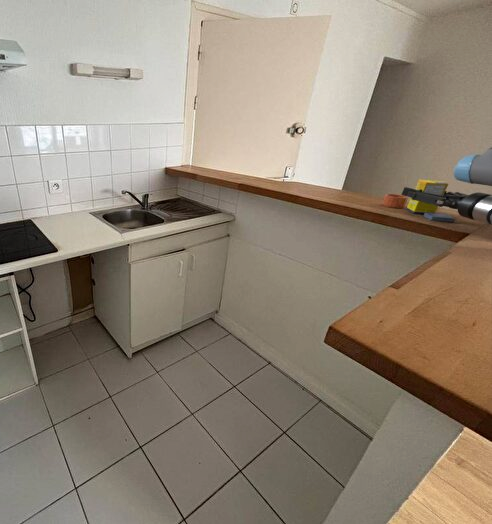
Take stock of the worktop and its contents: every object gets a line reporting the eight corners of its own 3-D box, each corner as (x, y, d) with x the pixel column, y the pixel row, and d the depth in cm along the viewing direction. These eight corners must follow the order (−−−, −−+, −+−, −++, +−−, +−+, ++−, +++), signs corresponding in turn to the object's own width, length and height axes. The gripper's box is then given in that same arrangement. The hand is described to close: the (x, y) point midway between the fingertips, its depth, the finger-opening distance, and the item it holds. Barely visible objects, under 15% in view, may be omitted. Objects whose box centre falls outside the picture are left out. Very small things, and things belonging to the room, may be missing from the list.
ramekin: (399, 205, 109) (403, 194, 107) (407, 209, 103) (411, 198, 102) (379, 203, 111) (382, 193, 109) (385, 207, 105) (389, 197, 104)
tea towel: (445, 218, 94) (447, 214, 93) (454, 222, 90) (456, 218, 89) (423, 216, 96) (424, 212, 95) (430, 220, 92) (432, 216, 91)
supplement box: (425, 211, 101) (439, 180, 97) (434, 215, 96) (449, 183, 92) (405, 209, 103) (418, 179, 98) (412, 213, 98) (427, 181, 93)
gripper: (443, 220, 82) (383, 201, 103) (511, 220, 83) (438, 201, 103) (456, 194, 79) (391, 180, 100) (527, 195, 79) (448, 180, 100)
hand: (415, 191), depth 101 cm, fingers closed on supplement box, 7 cm apart
